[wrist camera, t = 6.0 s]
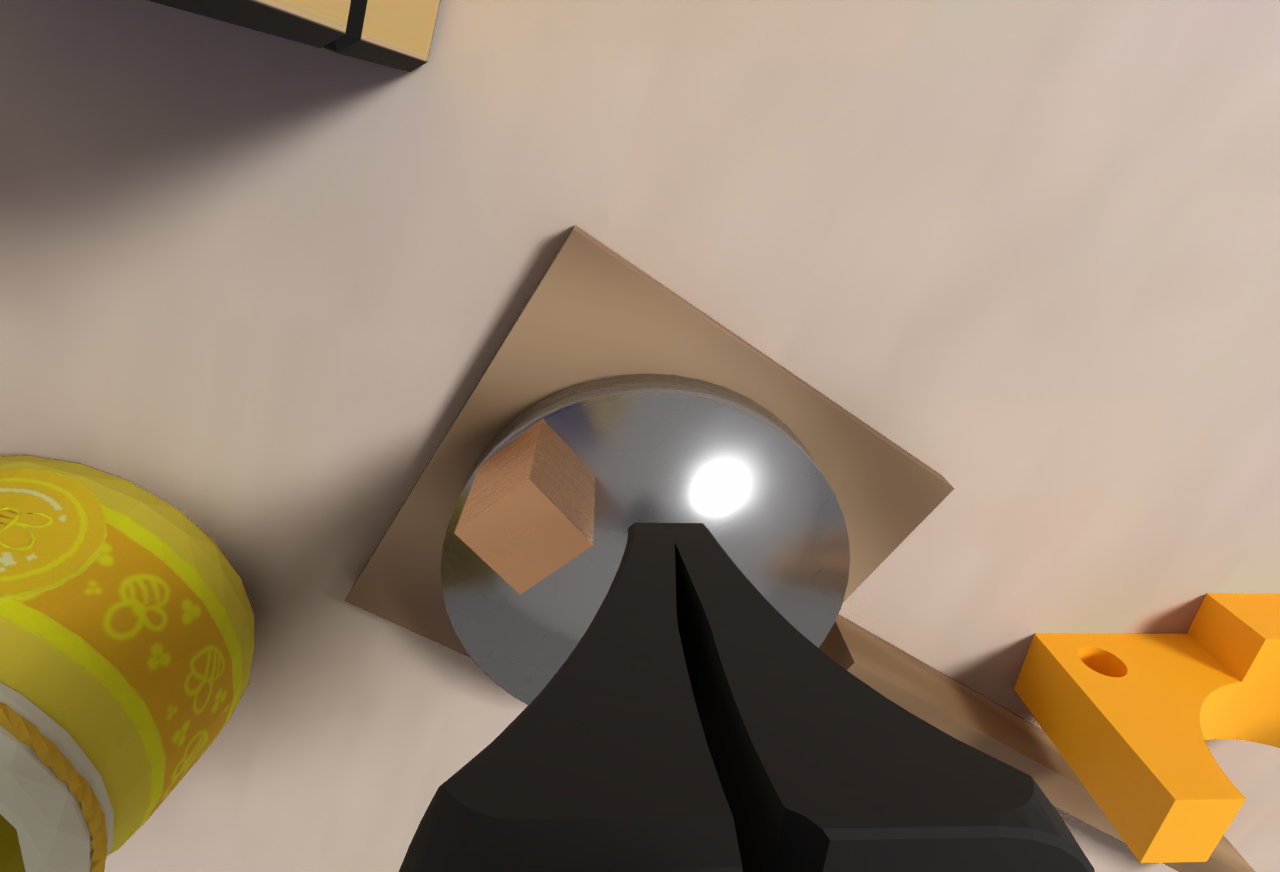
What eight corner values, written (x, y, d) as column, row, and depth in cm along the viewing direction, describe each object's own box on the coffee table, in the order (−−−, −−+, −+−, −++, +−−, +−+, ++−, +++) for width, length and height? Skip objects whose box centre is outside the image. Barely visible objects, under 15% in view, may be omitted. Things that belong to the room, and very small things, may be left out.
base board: (688, 738, 24) (691, 757, 24) (353, 584, 21) (345, 600, 20) (941, 475, 20) (954, 488, 19) (575, 225, 16) (573, 229, 16)
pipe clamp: (1378, 590, 23) (1640, 748, 17) (1319, 683, 25) (1538, 855, 19) (1046, 588, 22) (1202, 752, 16) (1010, 685, 24) (1140, 863, 18)
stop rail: (1195, 846, 28) (1243, 905, 26) (806, 633, 22) (828, 687, 20) (1219, 830, 28) (1270, 889, 26) (829, 609, 22) (854, 662, 20)
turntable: (897, 573, 20) (973, 690, 16) (613, 740, 23) (614, 879, 18) (689, 287, 16) (717, 342, 12) (370, 527, 19) (302, 642, 14)
